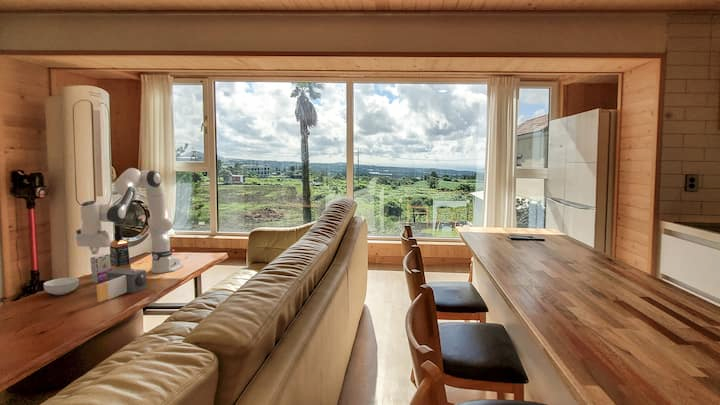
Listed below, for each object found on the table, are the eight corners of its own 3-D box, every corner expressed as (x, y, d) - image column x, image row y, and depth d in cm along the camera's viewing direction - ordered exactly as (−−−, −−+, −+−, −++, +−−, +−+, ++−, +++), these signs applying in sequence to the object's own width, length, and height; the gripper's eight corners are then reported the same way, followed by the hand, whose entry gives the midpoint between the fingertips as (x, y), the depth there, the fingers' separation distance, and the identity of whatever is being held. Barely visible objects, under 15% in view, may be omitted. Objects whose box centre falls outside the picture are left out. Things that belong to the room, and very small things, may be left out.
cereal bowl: (86, 290, 245) (85, 278, 244) (58, 299, 229) (57, 287, 228) (66, 287, 250) (65, 275, 249) (37, 295, 235) (36, 283, 234)
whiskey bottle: (109, 271, 285) (106, 225, 281) (123, 267, 293) (120, 223, 289) (117, 273, 279) (114, 227, 276) (131, 269, 288) (129, 224, 284)
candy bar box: (106, 277, 269) (104, 253, 267) (112, 278, 268) (110, 253, 266) (91, 283, 258) (89, 257, 256) (98, 283, 257) (96, 258, 255)
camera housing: (120, 284, 254) (119, 266, 253) (148, 288, 248) (147, 269, 247) (106, 290, 245) (105, 270, 243) (135, 293, 239) (134, 273, 237)
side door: (125, 291, 240) (124, 275, 239) (127, 291, 240) (126, 275, 239) (97, 303, 221) (96, 285, 220) (99, 303, 221) (98, 285, 220)
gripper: (112, 229, 230) (114, 253, 232) (82, 228, 235) (85, 252, 237) (102, 231, 224) (105, 256, 226) (72, 230, 229) (75, 254, 231)
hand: (95, 254), depth 231 cm, fingers closed
